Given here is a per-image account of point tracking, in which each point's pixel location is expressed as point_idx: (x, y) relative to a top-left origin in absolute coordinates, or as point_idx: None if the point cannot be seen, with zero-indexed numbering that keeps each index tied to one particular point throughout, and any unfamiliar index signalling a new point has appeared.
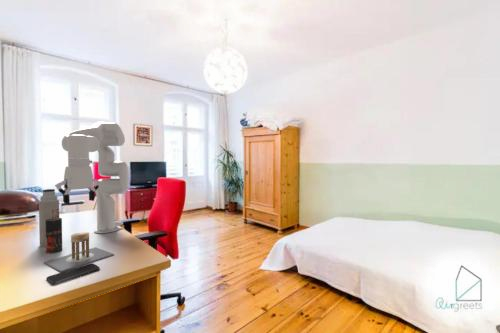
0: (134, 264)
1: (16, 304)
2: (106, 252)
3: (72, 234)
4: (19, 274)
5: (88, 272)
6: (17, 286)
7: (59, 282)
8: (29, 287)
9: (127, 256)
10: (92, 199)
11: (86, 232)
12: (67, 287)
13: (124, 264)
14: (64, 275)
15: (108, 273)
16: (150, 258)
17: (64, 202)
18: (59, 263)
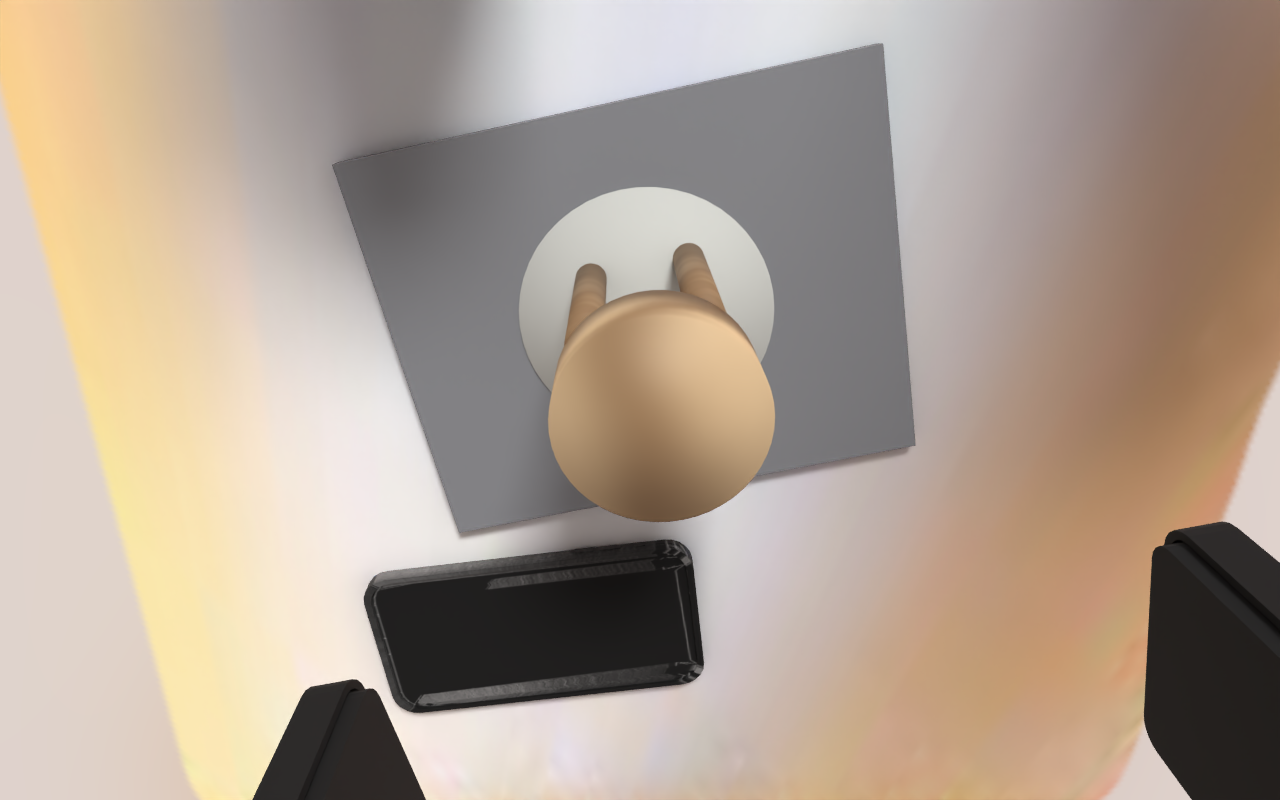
0: (915, 733)
1: (240, 796)
2: (885, 352)
3: (575, 356)
4: (165, 326)
5: (619, 688)
6: (199, 569)
7: (440, 704)
8: (275, 637)
9: (972, 553)
10: (1174, 764)
11: (753, 387)
12: (477, 777)
13: (867, 689)
14: (474, 633)
15: (722, 754)
16: (1059, 711)
17: (302, 713)
18: (461, 341)
